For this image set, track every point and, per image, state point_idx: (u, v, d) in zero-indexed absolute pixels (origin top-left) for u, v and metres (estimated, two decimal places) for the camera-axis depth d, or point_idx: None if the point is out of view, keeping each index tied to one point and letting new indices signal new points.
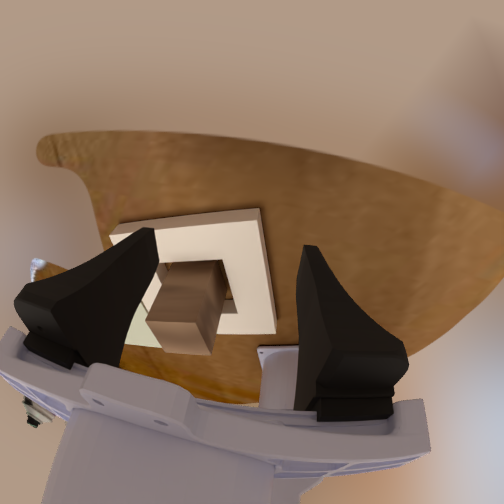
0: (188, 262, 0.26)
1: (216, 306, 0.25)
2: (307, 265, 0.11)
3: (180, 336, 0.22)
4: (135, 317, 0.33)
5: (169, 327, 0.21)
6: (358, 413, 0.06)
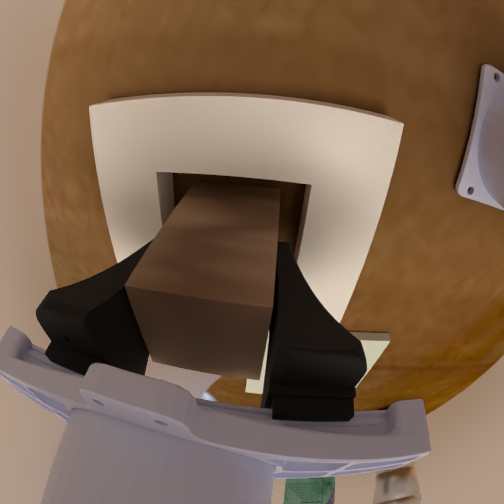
0: None
1: (243, 220, 0.11)
2: None
3: (187, 335, 0.09)
4: None
5: (158, 337, 0.09)
6: (314, 413, 0.06)
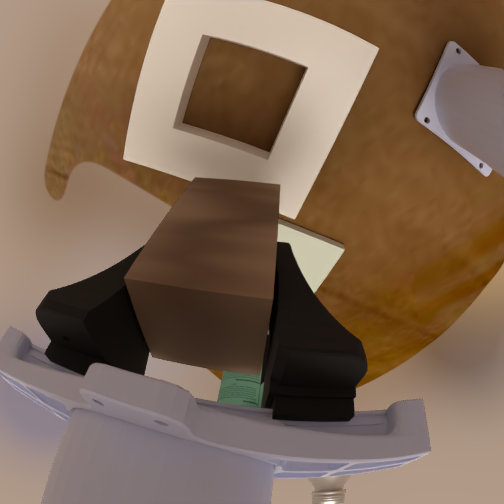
0: None
1: (243, 214, 0.11)
2: None
3: (187, 328, 0.09)
4: None
5: (158, 332, 0.09)
6: (314, 413, 0.06)
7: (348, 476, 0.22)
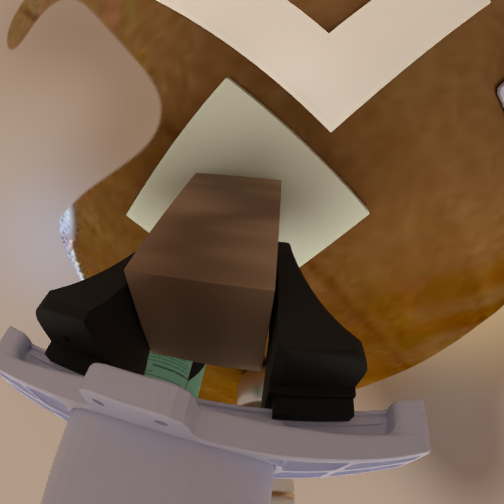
0: None
1: (244, 208, 0.11)
2: None
3: (187, 322, 0.09)
4: (264, 160, 0.14)
5: (157, 326, 0.09)
6: (314, 413, 0.06)
7: None
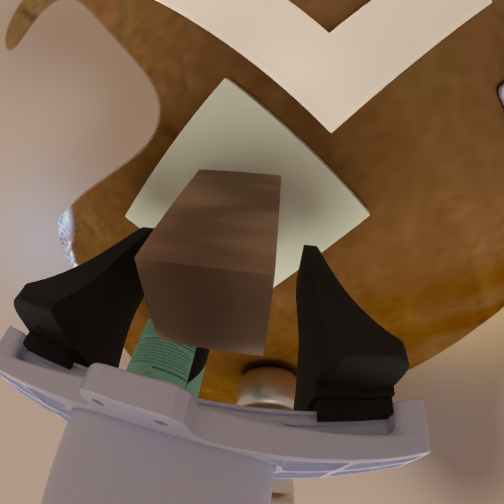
0: None
1: (246, 201, 0.12)
2: (307, 265, 0.11)
3: (193, 307, 0.10)
4: (263, 161, 0.14)
5: (165, 312, 0.10)
6: (358, 413, 0.06)
7: None
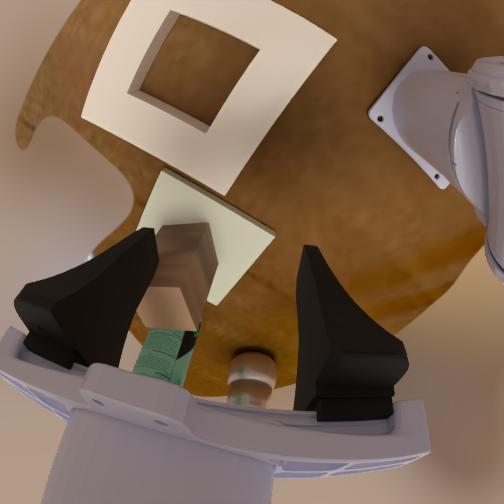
0: None
1: (180, 247, 0.21)
2: (307, 265, 0.11)
3: (154, 306, 0.19)
4: (196, 216, 0.23)
5: (143, 310, 0.19)
6: (358, 413, 0.06)
7: None
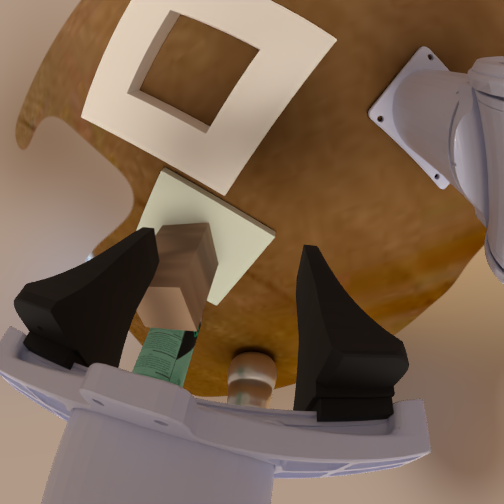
0: None
1: (180, 247, 0.21)
2: (307, 265, 0.11)
3: (154, 306, 0.19)
4: (196, 216, 0.23)
5: (143, 310, 0.19)
6: (358, 413, 0.06)
7: None
